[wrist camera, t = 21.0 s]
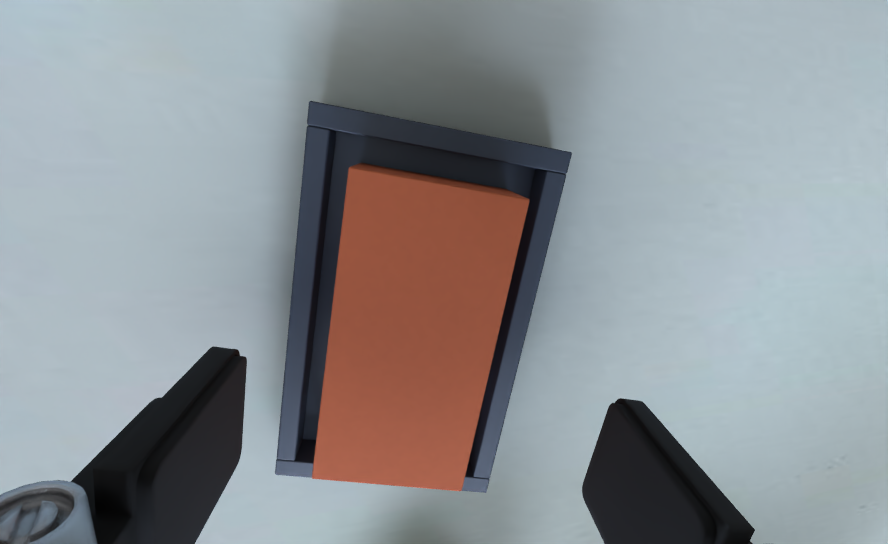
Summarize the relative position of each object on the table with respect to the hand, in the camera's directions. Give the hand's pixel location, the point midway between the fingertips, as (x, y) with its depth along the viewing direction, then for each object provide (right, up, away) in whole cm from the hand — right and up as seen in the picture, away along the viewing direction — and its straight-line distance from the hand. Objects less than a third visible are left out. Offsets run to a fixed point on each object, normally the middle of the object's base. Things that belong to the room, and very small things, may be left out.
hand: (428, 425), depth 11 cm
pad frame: (-1, +2, +9) cm, 9 cm away
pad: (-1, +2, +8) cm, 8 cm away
